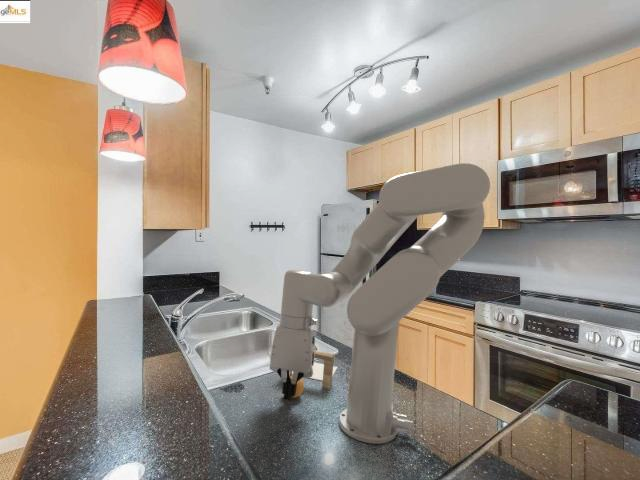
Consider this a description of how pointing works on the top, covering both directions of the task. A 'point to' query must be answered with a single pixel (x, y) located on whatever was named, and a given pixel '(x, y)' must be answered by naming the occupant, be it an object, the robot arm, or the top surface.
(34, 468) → the top surface
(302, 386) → the ball
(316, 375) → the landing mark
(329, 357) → the bridge
